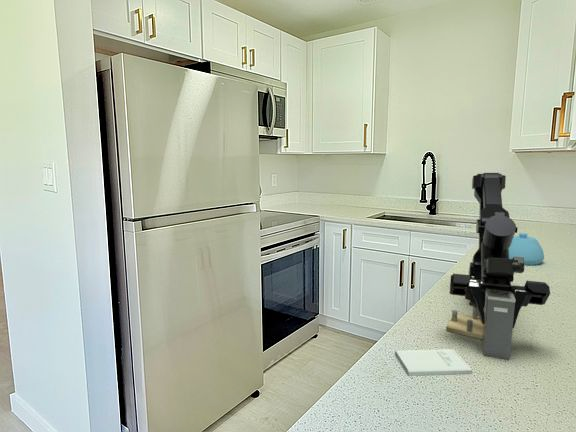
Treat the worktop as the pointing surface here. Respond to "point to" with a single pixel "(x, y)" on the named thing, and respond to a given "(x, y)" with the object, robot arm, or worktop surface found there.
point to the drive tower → (498, 323)
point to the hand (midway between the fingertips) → (497, 325)
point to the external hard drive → (432, 362)
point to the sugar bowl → (526, 249)
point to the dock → (465, 324)
